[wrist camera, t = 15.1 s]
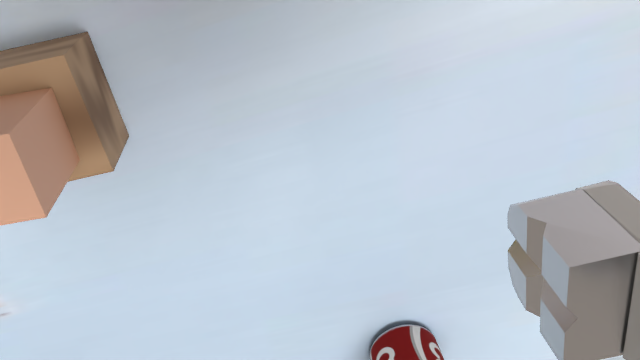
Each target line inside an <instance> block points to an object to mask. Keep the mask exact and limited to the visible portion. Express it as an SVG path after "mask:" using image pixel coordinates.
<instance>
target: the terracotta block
mask: <svg viewBox="0 0 640 360" xmlns="http://www.w3.org/2000/svg"><path fill="white" fill-rule="evenodd" d="M79 161H80V159H79V156H78V154H77V151H76V148H75V146H74V143H73V141H72V138H71V136H70V133H69V130H68V128H67V125H66V123H65V120H64V118H63V115H62V112H61V110H60V107H59V105H58V102H57V100H56V97H55V95H54V92H53V89H52V88H46V89H40V90H34V91H28V92H22V93H16V94H10V95H4V96H0V225H5V224H11V223H17V222H22V221H28V220H34V219H40V218H45V217H47V215H48V214H49V212H50V210H51V208H52V207H53V205H54V203H55V202H56V200H57V198H58V197H59V195H60V193H61V192H62V190H63V188H64V186H65V185H66V183H67V181H68V180H69V178H70V176H71V175H72V173H73V171H74V169H75V168H76V166H77V164H78V163H79Z"/></svg>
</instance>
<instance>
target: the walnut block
mask: <svg viewBox="0 0 640 360" xmlns="http://www.w3.org/2000/svg"><path fill="white" fill-rule="evenodd" d="M46 88H52V89H53V92H54V95H55V97H56V100H57V102H58V105H59V107H60V110H61V112H62V115H63V118H64V120H65V123H66V125H67V128H68V130H69V133H70V136H71V138H72V141H73V143H74V146H75V148H76V151H77V154H78V156H79V159H80V161H79V163H78V164H77V166H76V168H75V169H74V171H73V173H72V175H71V176H70V178H69V180H68V181H72V180H77V179H81V178H85V177H90V176H94V175H99V174H103V173H107V172H112V171H114V169H115V166H116V164H117V162H118V160H119V157H120V155H121V153H122V151H123V148H124V146H125V144H126V142H127V140H128V137H129V134H128V132H127V129H126V127H125V124H124V122H123V119H122V117H121V114H120V112H119V109H118V107H117V104H116V102H115V99H114V97H113V94H112V92H111V89H110V87H109V84H108V82H107V79H106V77H105V74H104V72H103V69H102V67H101V64H100V62H99V59H98V57H97V54H96V51H95V49H94V46H93V44H92V41H91V39H90V36H89V34H88V32H84V33H80V34H75V35H71V36H66V37H62V38H57V39H53V40H48V41H44V42H39V43H35V44H30V45H26V46H21V47H17V48H12V49H8V50H3V51H0V96H4V95H10V94H16V93H22V92H28V91H34V90H40V89H46ZM68 181H67V182H68Z"/></svg>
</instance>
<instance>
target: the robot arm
mask: <svg viewBox="0 0 640 360" xmlns="http://www.w3.org/2000/svg"><path fill="white" fill-rule="evenodd" d="M508 229H509V230H510V232H511V233H512V234H513V236H514V237H515V239H516V240H515V241H514V243H513V244H512V245H511V247H510V248H509V250H508V267H509V272H510V276H511V280H512V284H513V287H514V289H515V291H516V293H517V296H518V298H519V300H520V301H521V303H522V304H523V306H524V308H525V309H526V310H527V311H529V312H531V313H533V314H535V315H537V316H539V317H540V333H541V334H542V336H543V337H544V339H545V340H546V342H547V343H548V345H549V346H550V348H551V350H552V351H553V353H554V354H555V356H556V357H557V359H558V360H600V359H605V358H610V357H615V356H619V355H623V358H624V359H625V360H640V201H639V200H637V199H636V198H635V197H634V196H633V195H631V194H630V193H629V192H628V191H627V190H625V189H624V188H623V187H622V186H621V185H619V184H618V183H616V182H613V181H609V180H608V181H604V182H600V183H596V184H592V185H588V186H584V187H580V188H576V189H575V190H573V191H568V192H564V193H560V194H555V195H551V196H547V197H542V198H538V199H534V200H529V201H525V202H521V203H516V204H512V205H510V207H509V211H508Z"/></svg>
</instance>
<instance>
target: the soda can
mask: <svg viewBox="0 0 640 360" xmlns="http://www.w3.org/2000/svg"><path fill="white" fill-rule="evenodd" d="M370 360H444V358H443V356H442V354H441V351H440V349H439V346H438V344H437V342H436V339H435V337H434V335H433V334H432V333H431V332H430V331H429V330H427V329H426V328H424V327H421V326H418V325H400V326H396V327H393V328H391V329H389V330H387V331H385V332H383V333H382V334H381V335H380V336H379V337H378V338H377V339H376V340H375V341H374V343H373V345H372V347H371V350H370Z"/></svg>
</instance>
